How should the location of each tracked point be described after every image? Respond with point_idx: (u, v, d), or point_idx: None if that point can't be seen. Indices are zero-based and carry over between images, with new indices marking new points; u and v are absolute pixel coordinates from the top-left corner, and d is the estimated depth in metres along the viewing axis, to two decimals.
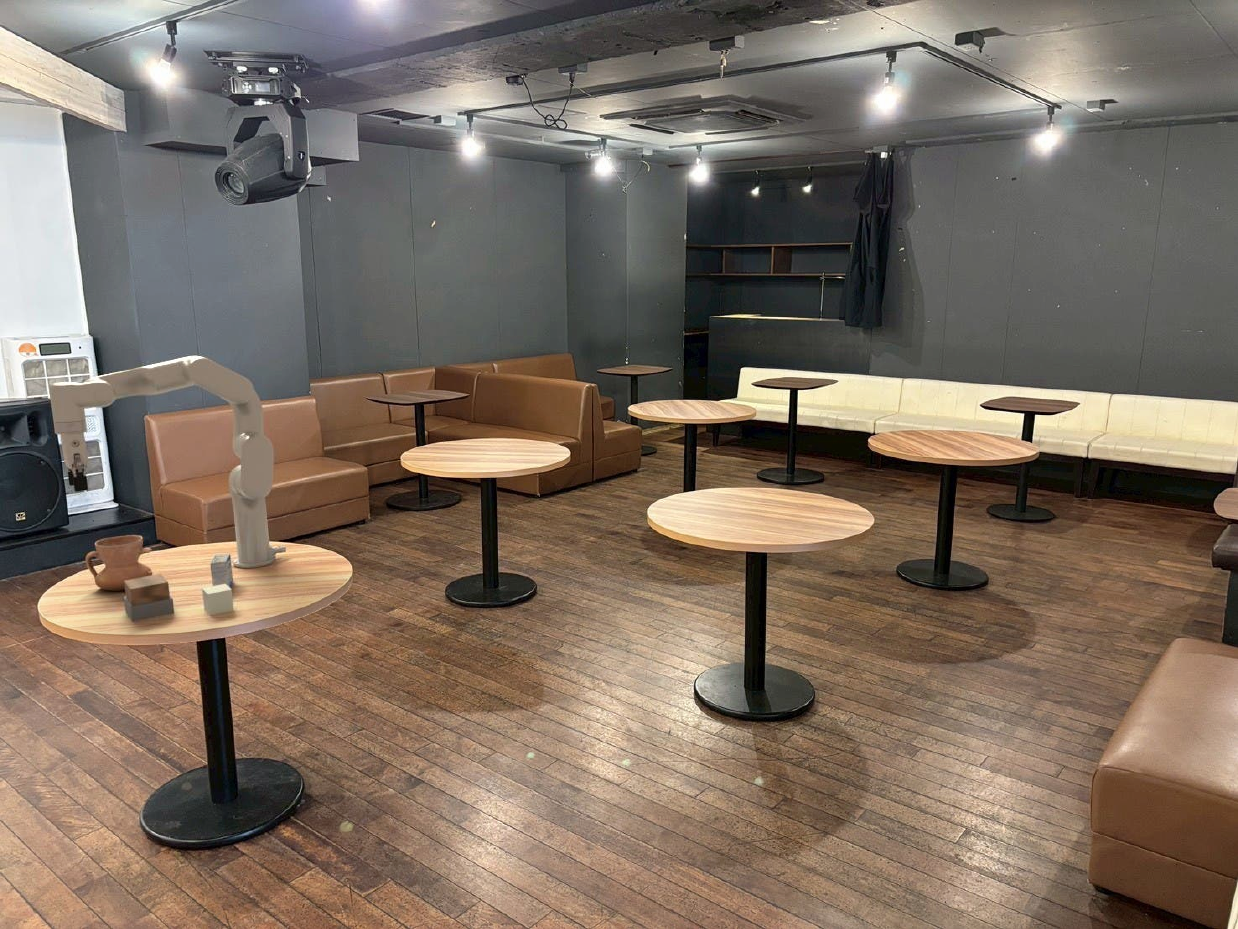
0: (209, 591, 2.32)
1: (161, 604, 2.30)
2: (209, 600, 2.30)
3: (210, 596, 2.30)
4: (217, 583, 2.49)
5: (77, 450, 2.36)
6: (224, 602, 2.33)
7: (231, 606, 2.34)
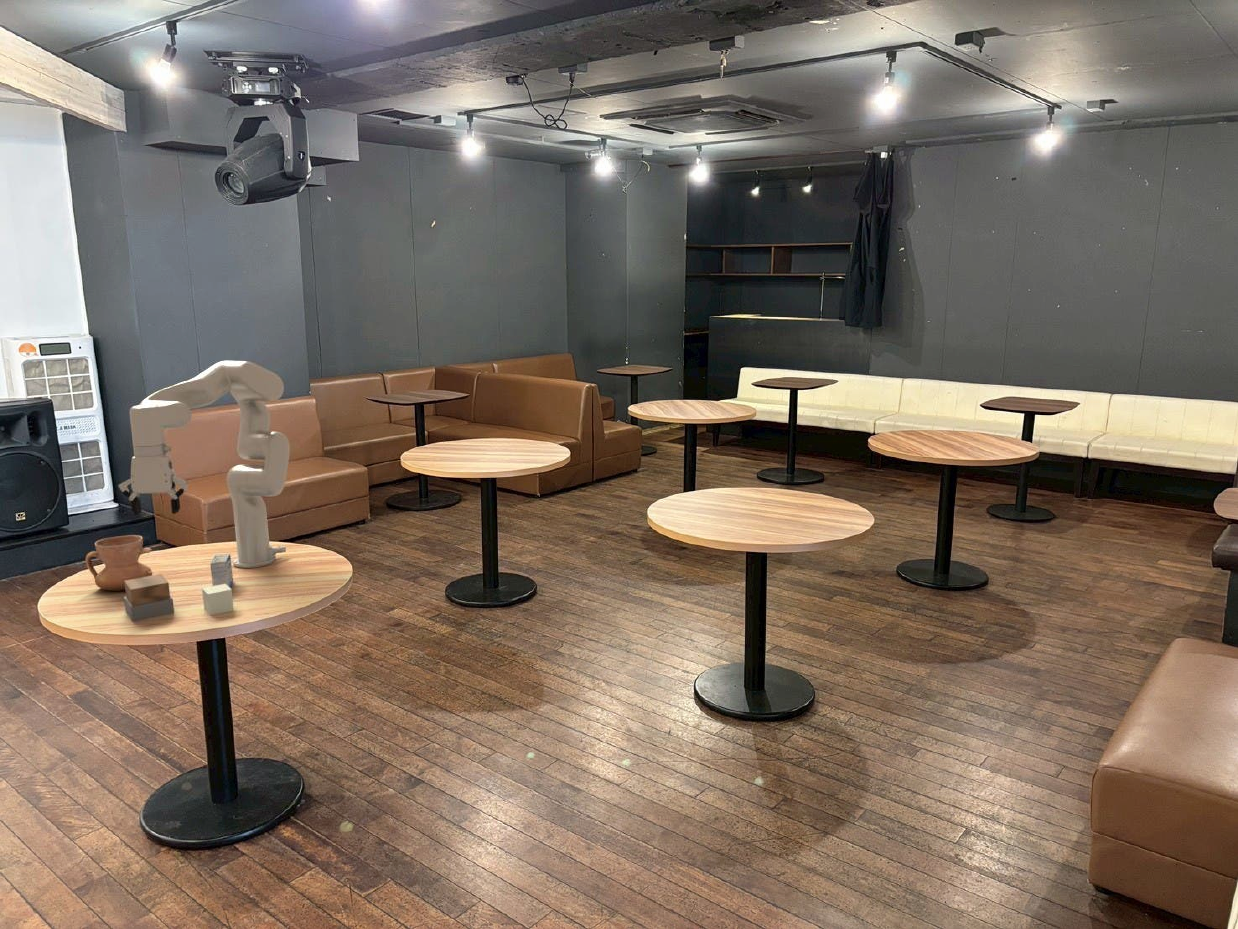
0: (209, 591, 2.32)
1: (161, 604, 2.30)
2: (209, 600, 2.30)
3: (210, 596, 2.30)
4: (217, 583, 2.49)
5: (172, 471, 2.33)
6: (224, 602, 2.33)
7: (231, 606, 2.34)
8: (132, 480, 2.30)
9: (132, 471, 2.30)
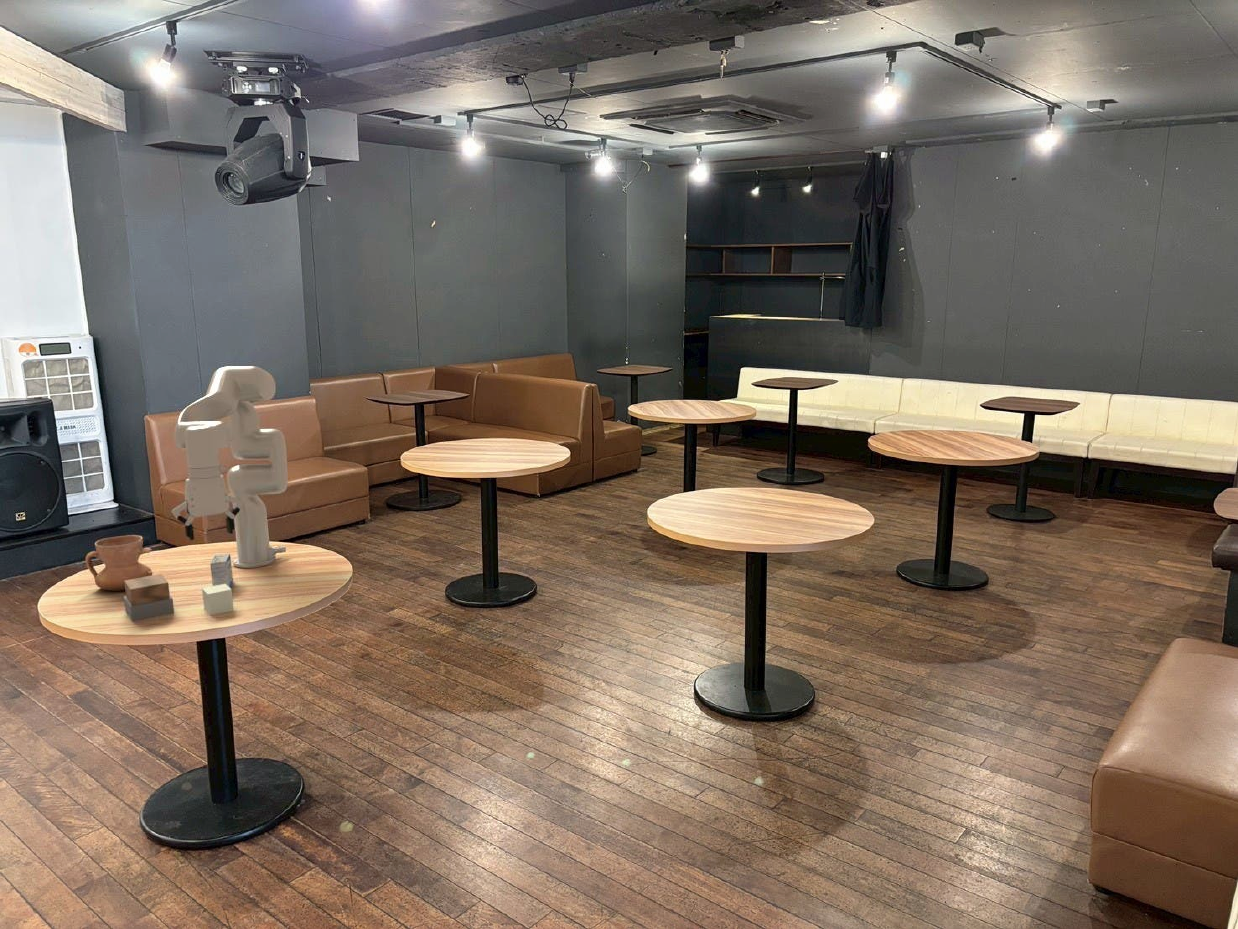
0: (209, 591, 2.32)
1: (161, 604, 2.30)
2: (209, 600, 2.30)
3: (210, 596, 2.30)
4: (217, 583, 2.49)
5: None
6: (224, 602, 2.33)
7: (231, 606, 2.34)
8: (191, 504, 2.24)
9: (191, 494, 2.24)
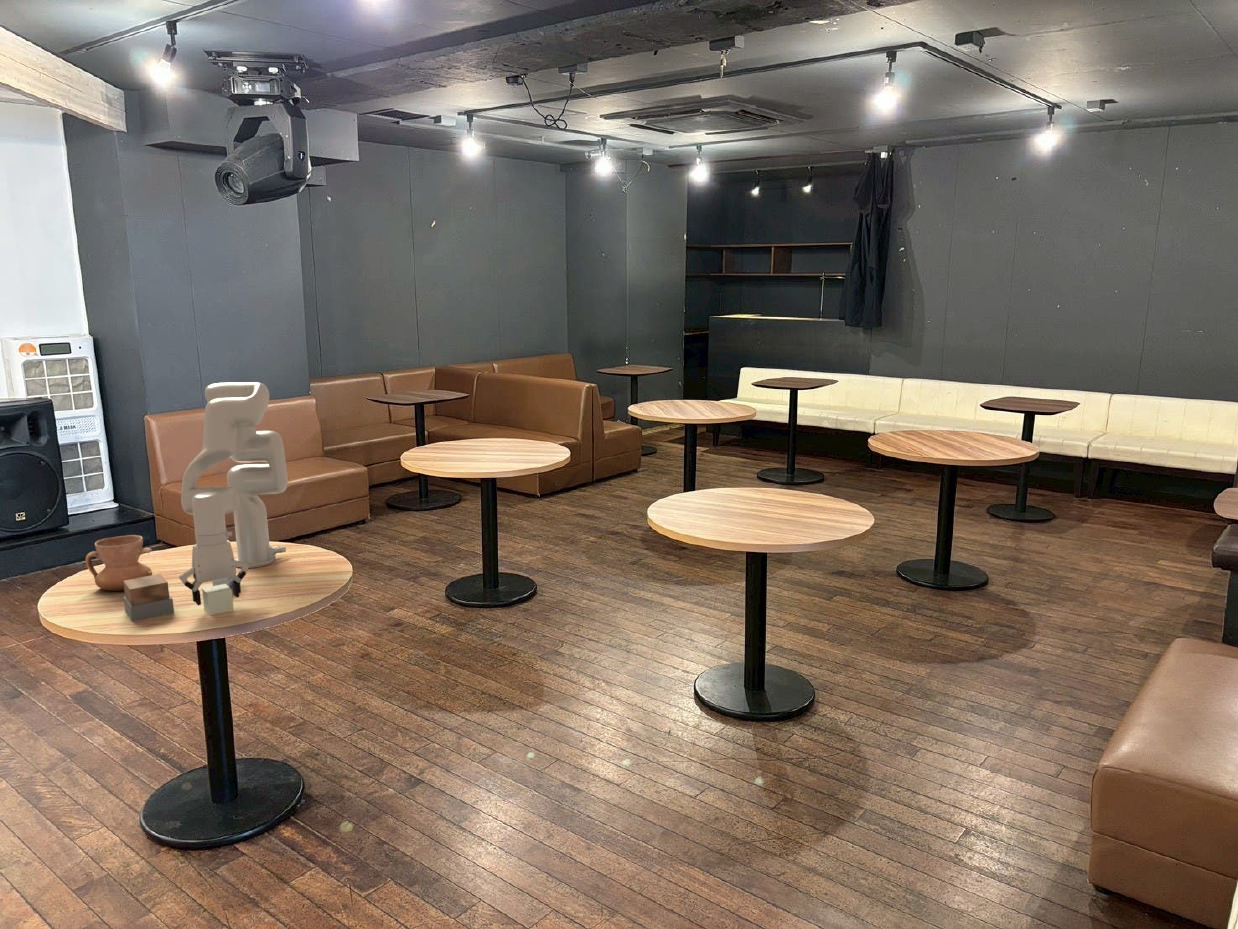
0: (209, 591, 2.32)
1: (161, 604, 2.30)
2: (209, 600, 2.30)
3: (210, 596, 2.30)
4: (217, 583, 2.49)
5: None
6: (224, 602, 2.33)
7: (231, 606, 2.34)
8: (198, 570, 2.28)
9: (198, 561, 2.28)
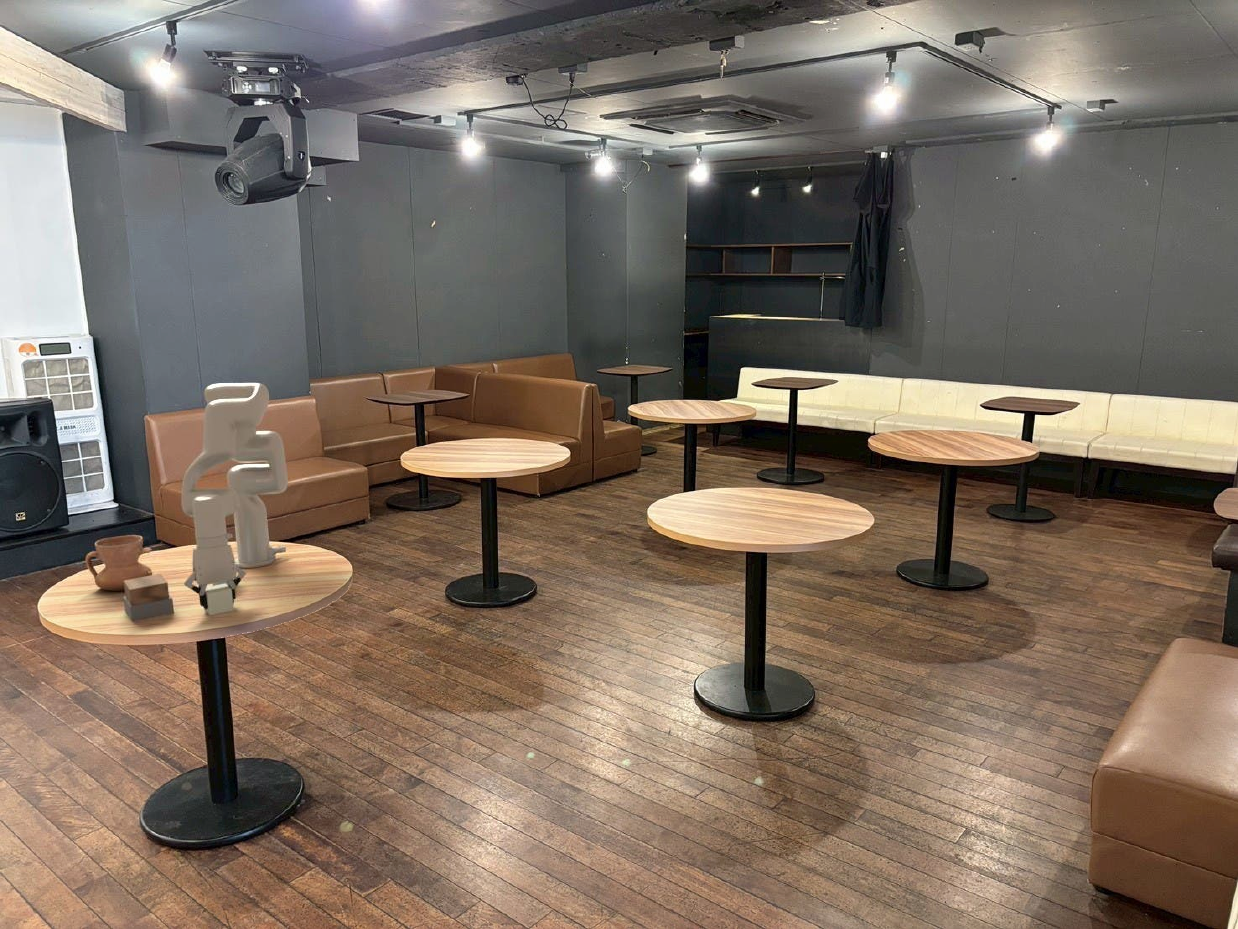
0: (209, 590, 2.32)
1: (160, 604, 2.30)
2: (209, 600, 2.30)
3: (210, 596, 2.30)
4: (217, 583, 2.49)
5: None
6: (224, 601, 2.33)
7: (231, 606, 2.34)
8: (198, 572, 2.28)
9: (199, 563, 2.28)
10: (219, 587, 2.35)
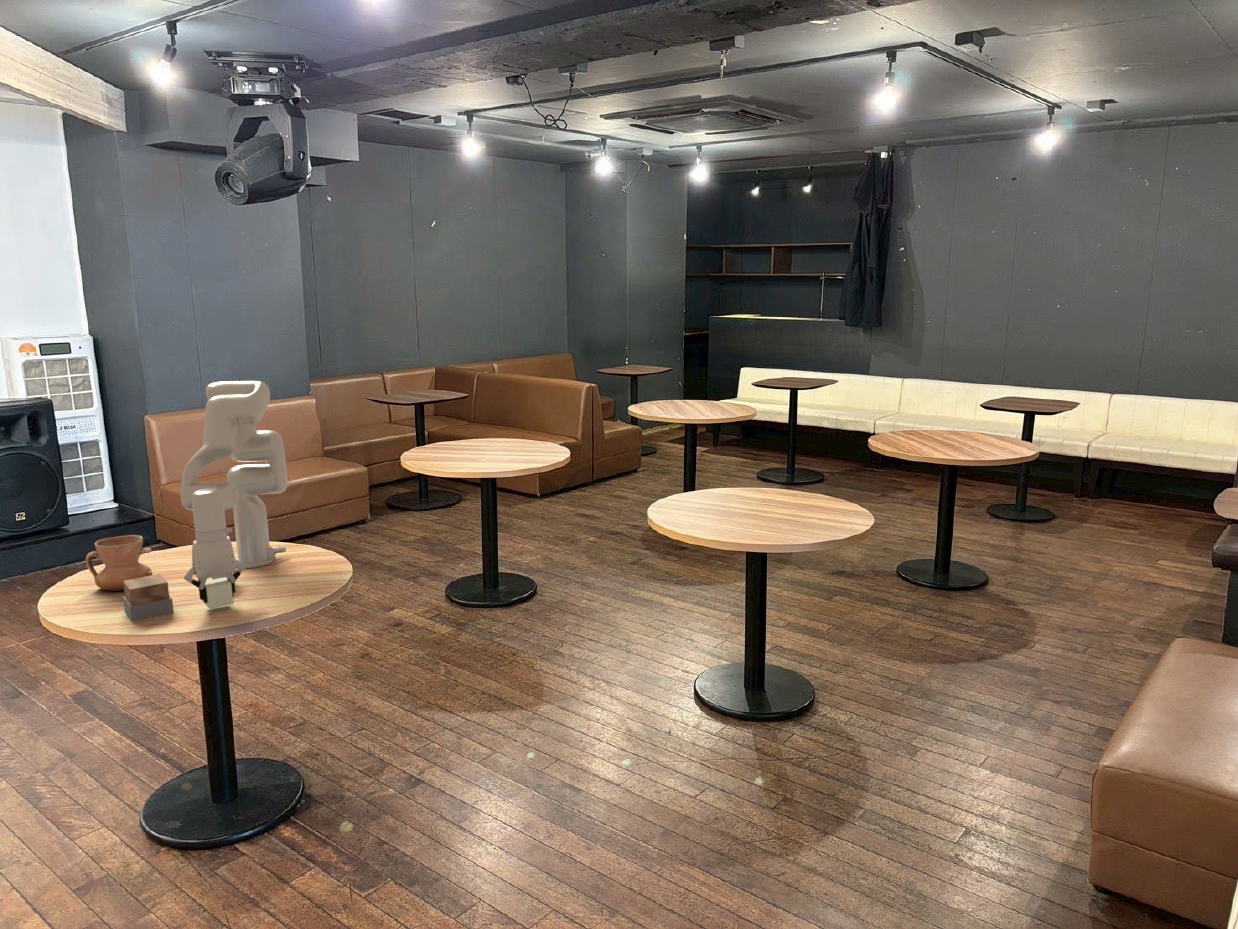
0: (209, 584, 2.32)
1: (160, 604, 2.30)
2: (209, 594, 2.30)
3: (210, 590, 2.30)
4: None
5: None
6: (224, 595, 2.33)
7: (231, 600, 2.34)
8: (198, 566, 2.28)
9: (198, 557, 2.28)
10: (219, 581, 2.35)
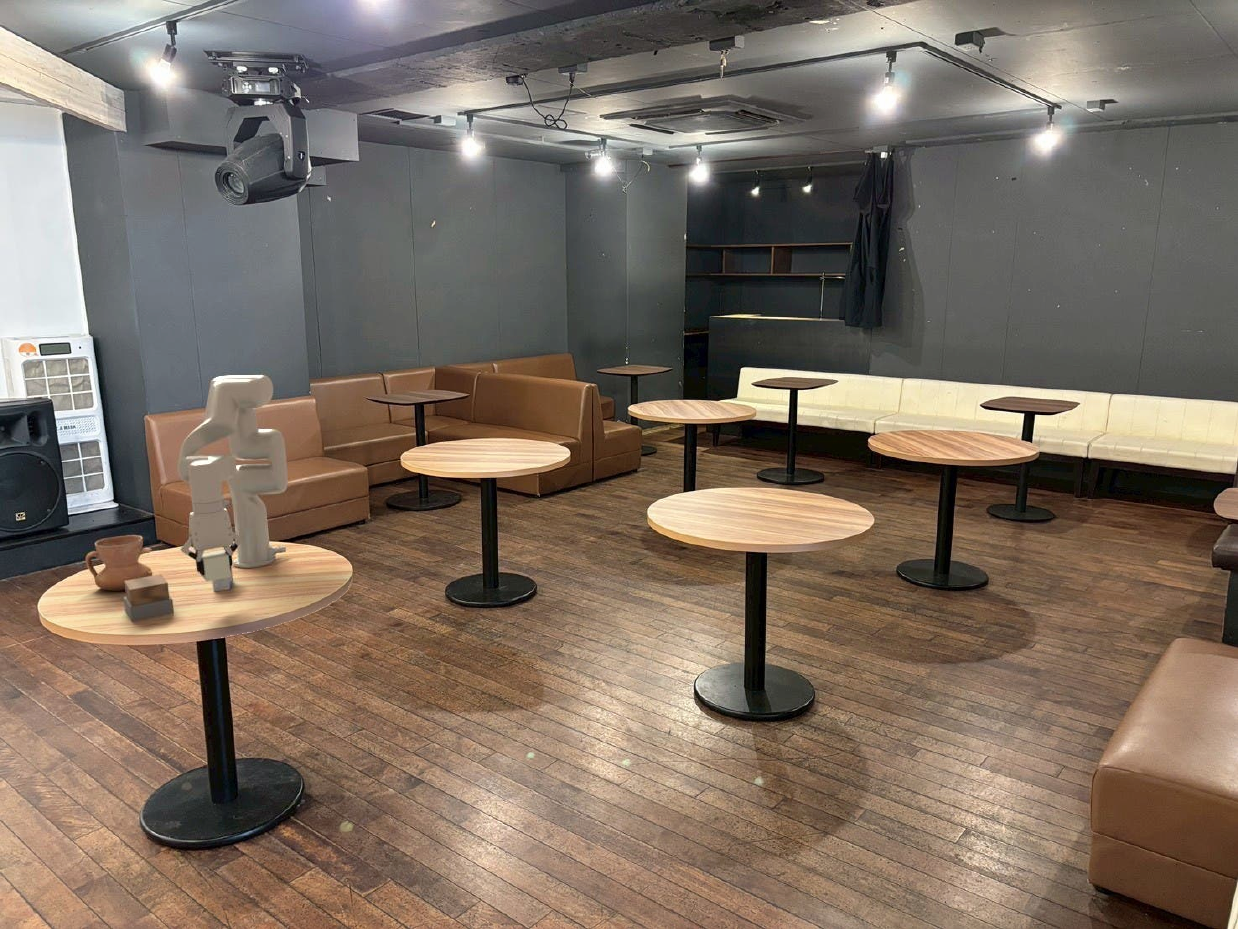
0: (206, 557, 2.30)
1: (160, 605, 2.30)
2: (206, 566, 2.29)
3: (207, 562, 2.29)
4: (217, 583, 2.49)
5: None
6: (221, 568, 2.31)
7: (228, 572, 2.32)
8: (195, 538, 2.27)
9: (195, 529, 2.26)
10: (216, 553, 2.33)
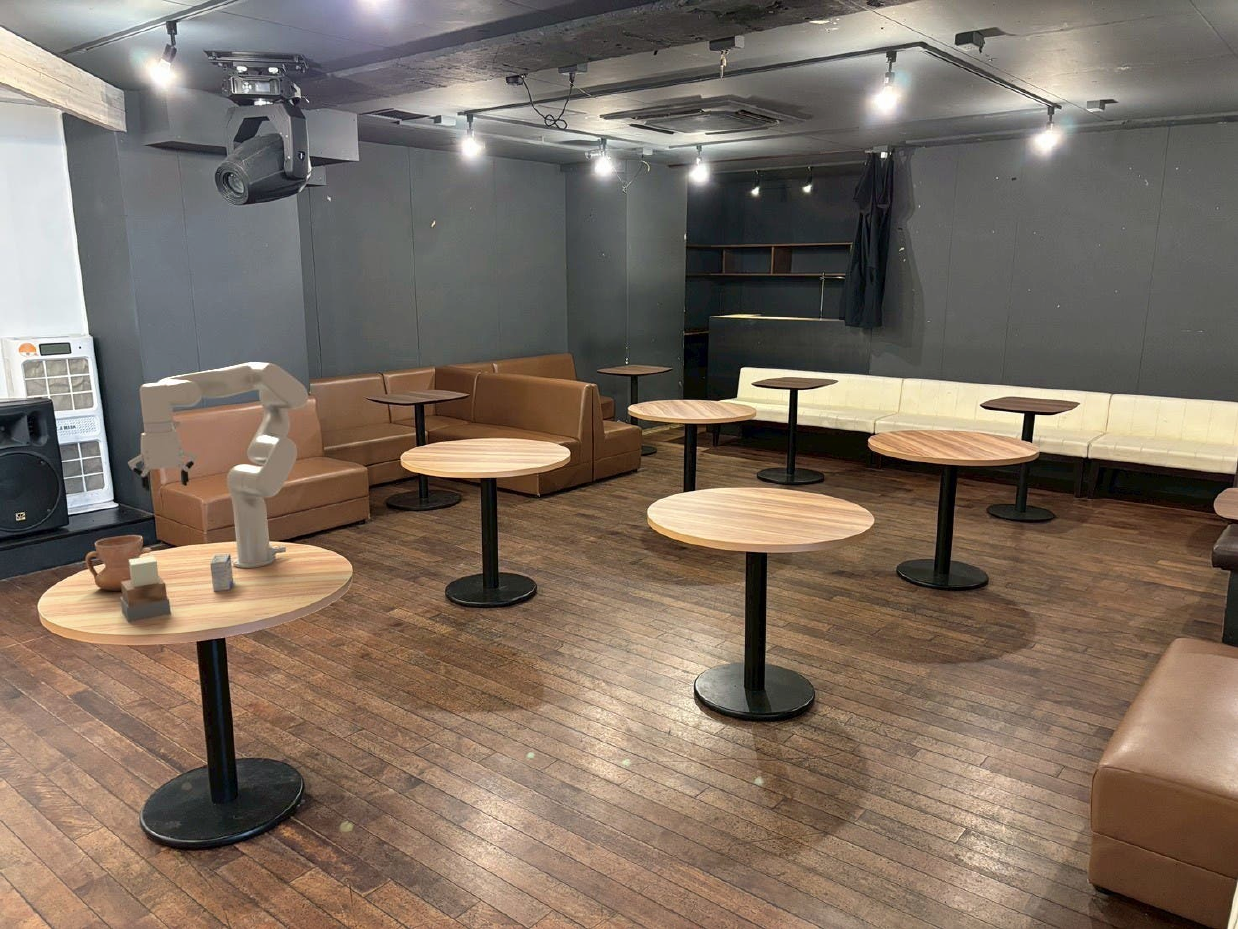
0: (134, 562, 2.29)
1: (157, 605, 2.30)
2: (132, 571, 2.27)
3: (133, 567, 2.27)
4: (217, 583, 2.49)
5: None
6: (149, 574, 2.29)
7: (156, 578, 2.30)
8: (146, 456, 2.39)
9: (146, 447, 2.39)
10: (145, 559, 2.31)
